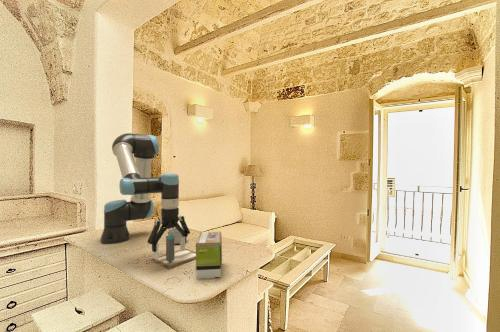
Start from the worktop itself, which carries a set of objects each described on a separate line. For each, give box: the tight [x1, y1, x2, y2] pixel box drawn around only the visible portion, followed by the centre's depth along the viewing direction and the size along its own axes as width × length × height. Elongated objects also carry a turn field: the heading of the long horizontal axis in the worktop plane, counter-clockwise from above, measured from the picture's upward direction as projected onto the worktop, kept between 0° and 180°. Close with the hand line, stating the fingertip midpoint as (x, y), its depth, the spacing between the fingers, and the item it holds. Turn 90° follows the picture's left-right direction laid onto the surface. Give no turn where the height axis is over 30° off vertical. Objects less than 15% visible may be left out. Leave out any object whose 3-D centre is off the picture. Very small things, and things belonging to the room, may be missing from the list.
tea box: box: [195, 231, 223, 280], centre depth 102 cm, size 15×10×15 cm
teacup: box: [167, 225, 188, 245], centre depth 140 cm, size 14×11×8 cm
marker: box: [165, 234, 175, 263], centre depth 108 cm, size 3×3×12 cm
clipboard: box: [150, 248, 196, 270], centre depth 115 cm, size 16×19×1 cm
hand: (170, 254), depth 109 cm, fingers open, 13 cm apart
